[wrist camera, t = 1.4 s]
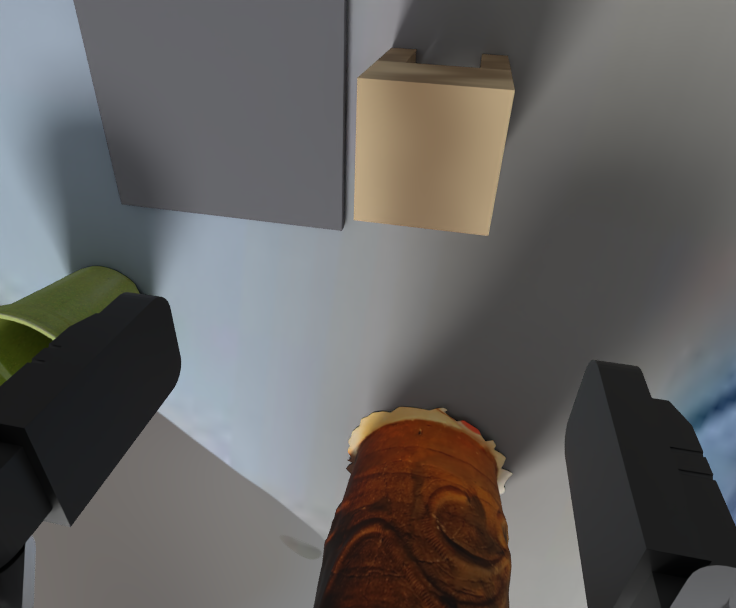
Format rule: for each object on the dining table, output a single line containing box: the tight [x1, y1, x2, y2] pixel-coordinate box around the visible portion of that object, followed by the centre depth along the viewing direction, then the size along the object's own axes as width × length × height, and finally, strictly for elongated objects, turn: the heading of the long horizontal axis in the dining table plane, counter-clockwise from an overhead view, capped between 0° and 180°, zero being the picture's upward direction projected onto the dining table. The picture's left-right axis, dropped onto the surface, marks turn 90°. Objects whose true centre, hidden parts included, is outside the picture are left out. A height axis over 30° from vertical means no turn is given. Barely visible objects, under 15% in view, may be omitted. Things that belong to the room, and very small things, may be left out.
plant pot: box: [0, 266, 140, 386], centre depth 34 cm, size 9×9×9 cm
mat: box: [74, 0, 347, 231], centre depth 28 cm, size 14×14×1 cm
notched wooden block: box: [354, 48, 515, 236], centre depth 23 cm, size 6×6×8 cm
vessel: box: [314, 407, 513, 608], centre depth 33 cm, size 14×14×20 cm
